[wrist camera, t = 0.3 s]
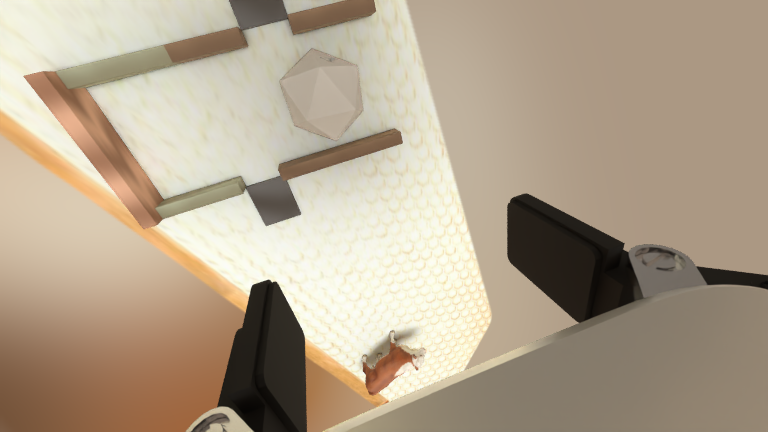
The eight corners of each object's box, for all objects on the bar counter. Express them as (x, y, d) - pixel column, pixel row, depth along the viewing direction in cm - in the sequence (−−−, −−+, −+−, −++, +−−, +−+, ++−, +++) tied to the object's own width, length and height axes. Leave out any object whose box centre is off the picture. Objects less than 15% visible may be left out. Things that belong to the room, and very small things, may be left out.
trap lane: (2, 1, 25) (-45, -11, 21) (352, -74, 29) (359, -94, 25) (186, 251, 39) (175, 269, 35) (405, 178, 42) (414, 187, 39)
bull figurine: (417, 328, 58) (434, 363, 51) (367, 367, 59) (376, 407, 52) (405, 318, 56) (421, 353, 49) (353, 359, 57) (361, 399, 50)
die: (370, 101, 37) (376, 45, 28) (347, 160, 35) (345, 121, 26) (310, 79, 37) (295, 14, 27) (284, 137, 35) (258, 89, 26)
